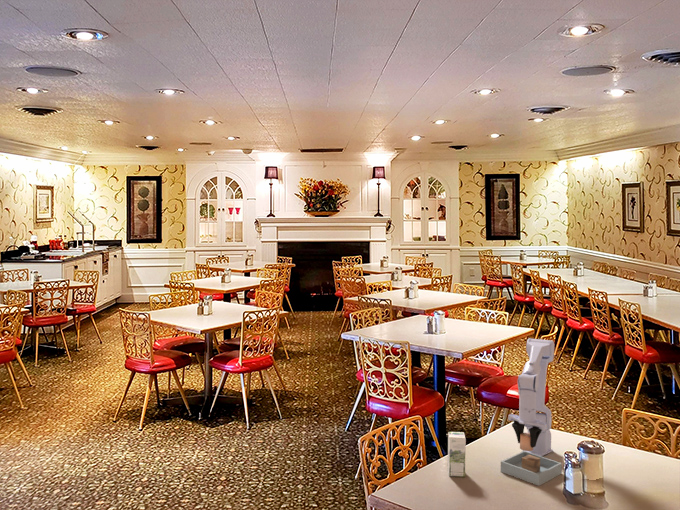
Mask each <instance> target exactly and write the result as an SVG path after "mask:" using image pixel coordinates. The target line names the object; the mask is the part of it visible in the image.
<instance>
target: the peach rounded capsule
mask: <svg viewBox="0 0 680 510" xmlns="http://www.w3.org/2000/svg"><path fill="white" fill-rule="evenodd" d="M519 449H520V450H522V451H523V450H524V451H532V450H533V448H532V447H531V438H530V433H528V432H523V433H521V434H520V443H519Z"/></svg>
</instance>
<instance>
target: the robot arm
mask: <svg viewBox="0 0 680 510" xmlns="http://www.w3.org/2000/svg"><path fill="white" fill-rule="evenodd" d="M525 347H526V348H525V349H526V350H525V351H526V353H527V356H528V359H529V360H528V361H526V362H525V363H524V366H523V369H522V372H521V374H519V375H518V377H517V389H518V395H519V396H518V397H519V398H518V399H519V402H518V403H519V404H518V406H519V407H518V409H519V410H518V412H519V413H518V415H517V414H513V413H510V414H508V417H507V420H508V421H510V422H512V421H513V422H512V423H511V426H512V428H513V430H514V433H515V436H516V439H517V444H520V434H521V433H525V432H524V431H525V428H526V431H527V433H530V438H531V447H532V448H533V450H532V451H526V452H529V453H532V454H535V455H538V456H541V457H544V456H546V455H548V454H550V453H552V452H554V449H553V448H552V433H551V428H552V411H551V408H549V407H548V406H546V404H545V402H546V400H545V399H546V385H547V373H548V365H549V363H551V362H554V357H555V356H554V355H555V342H554V340H553V339H551V340H549V339H540V338H538V339H537V338H530V337H528V339H527V341H526V346H525ZM523 451H524V450H522V452H523Z"/></svg>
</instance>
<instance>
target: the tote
mask: <svg viewBox="0 0 680 510" xmlns="http://www.w3.org/2000/svg"><path fill="white" fill-rule="evenodd" d="M527 455H532V456H535V457H538V458H540V471H539V472H537V473H534V472H531V471H528V470H526V469H523V468H522V457H525V456H527ZM562 463H563V462H558V461H556V460H553V459H550V458H547V457H544V456H542V457H541V456H538V455H535V454H532V453H529V452H526V451H523V450H522V451H521V452H519V453H516V454H514V455H512V456H510V457H507V458H506V459H505V458H504V459H503V460H500V473H502V474H505V475H509V476H510V477H513V476H514V478H516V479H519V478H520V479H519V480H521V479H522V481H524V482H527V483H531V484H532V483H533V485H535V486H538V487H540V486H541V485H543V484H545V483H547V482H549V481H550V480H552V479H554V478H556V477H558V476H560V475H562V470H563V469H562V467H563V465H562Z"/></svg>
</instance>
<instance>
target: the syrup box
mask: <svg viewBox="0 0 680 510" xmlns="http://www.w3.org/2000/svg"><path fill="white" fill-rule="evenodd" d="M447 433H448V434H447V471H448V476H449V477H457V478H465V477H466V449H467V446H466V445H467V443H466V442H467V439H466V436H465V432H462V431H461V432H460V431H448V432H447Z"/></svg>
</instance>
